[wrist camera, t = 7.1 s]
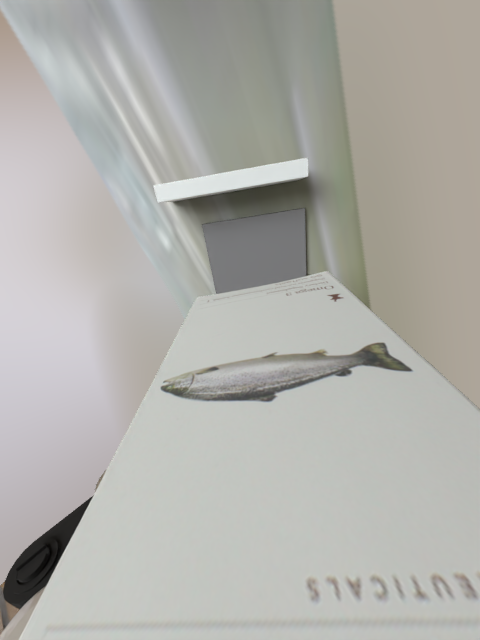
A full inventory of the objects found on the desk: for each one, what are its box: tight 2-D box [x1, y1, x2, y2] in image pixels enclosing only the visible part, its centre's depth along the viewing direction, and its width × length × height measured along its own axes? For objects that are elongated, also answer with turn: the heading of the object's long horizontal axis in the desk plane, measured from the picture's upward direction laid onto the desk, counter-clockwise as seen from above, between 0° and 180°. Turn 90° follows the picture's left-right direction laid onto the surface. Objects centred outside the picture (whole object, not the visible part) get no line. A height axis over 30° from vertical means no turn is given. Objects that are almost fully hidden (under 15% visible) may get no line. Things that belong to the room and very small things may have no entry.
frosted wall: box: [153, 158, 308, 202], centre depth 20 cm, size 1×12×4 cm, turn 99°
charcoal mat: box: [202, 208, 306, 294], centre depth 25 cm, size 12×10×1 cm
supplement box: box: [19, 271, 480, 640], centre depth 8 cm, size 7×7×13 cm
